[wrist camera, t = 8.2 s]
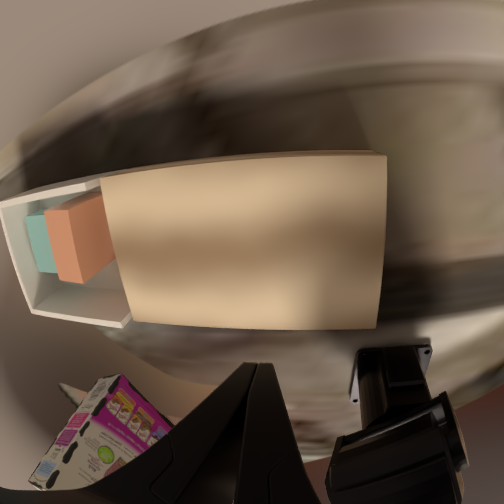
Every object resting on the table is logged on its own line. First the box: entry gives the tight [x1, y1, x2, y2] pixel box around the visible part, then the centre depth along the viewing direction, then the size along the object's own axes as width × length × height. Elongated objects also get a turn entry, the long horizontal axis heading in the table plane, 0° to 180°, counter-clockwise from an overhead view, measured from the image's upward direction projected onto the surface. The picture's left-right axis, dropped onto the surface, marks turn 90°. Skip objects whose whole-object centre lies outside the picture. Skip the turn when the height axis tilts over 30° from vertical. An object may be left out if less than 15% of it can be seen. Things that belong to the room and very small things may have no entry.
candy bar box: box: [28, 373, 174, 490], centre depth 24 cm, size 11×5×16 cm, turn 31°
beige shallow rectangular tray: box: [99, 150, 387, 330], centre depth 19 cm, size 10×16×4 cm, turn 95°
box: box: [0, 169, 133, 328], centre depth 21 cm, size 10×11×5 cm
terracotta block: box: [44, 192, 116, 284], centre depth 20 cm, size 5×5×2 cm
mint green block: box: [25, 207, 57, 273], centre depth 22 cm, size 5×5×2 cm
